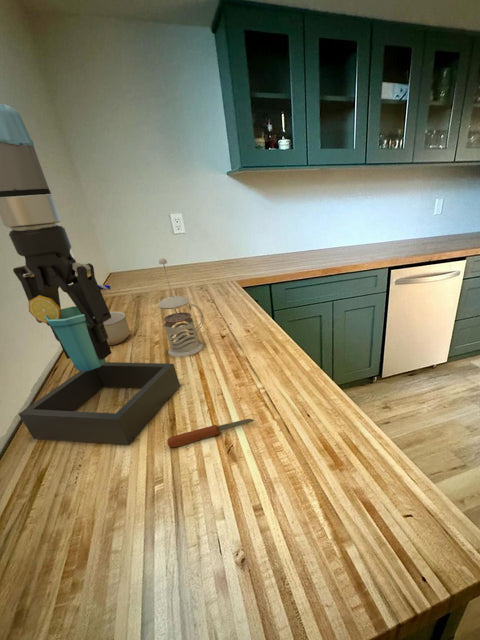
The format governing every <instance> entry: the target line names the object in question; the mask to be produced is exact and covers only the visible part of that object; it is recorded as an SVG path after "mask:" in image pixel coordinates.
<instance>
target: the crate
mask: <svg viewBox="0 0 480 640" xmlns="http://www.w3.org/2000/svg"><path fill="white" fill-rule="evenodd" d="M180 387H181V384H180V380H179V377H178V374H177V370H176V367H175V364H174V363H166V362H165V363H163V362H161V363H160V362H119V361H118V362H117V361H116V362H110V361H106V362H105V363H104V364H103V365H102V366H101V367H98V368H95V369H93V370H90V371H77V373H75V374H73V375H72V376H71V377H69V378H68V379H67V380H64V381H63V382H62V383H60V384H59V385H58V386H56V387H54V389H52V390H51V391H50V392H47V393H46V394H45V395H44V396H42V397H41V398H39V399H38V400H36V401H35V402H33V403H32V404H30V405H29V406H28V407H26V408H25V409H23V410H22V411H20V412H19V413H18V416H19V417H20V419H21V421H22V422H23V424H24V426H25V427H26V429H27V431H28V432H29V434H30V436H31V437H32V439H33V440H44V441H62V442H77V443H88V444H89V443H91V444H105V445H106V444H107V445H119V446H130V445H131V444H132V443H133V441H135V439H136V438H137V437H138V435H139V434H140V433H141V432H142V431H143V430H144V428H146V426H147V425H148V424H149V423H150V422H151V420H152V419H153V418H154V417H155V416H156V415H157V414H158V413H159V411H160V410H162V408H163V407H164V405H165V404H166V403H167V402H168V401H169V400H170V399H171V398H172V396H173V395H174V394H175V393H176V392H177V390H179V388H180ZM103 388H118V389H119V388H121V389H139V390H138V391H137V392H136V393H135V394H134V395H133V396H132V397H131V398H130V399H129V400H128V401H127V402H126V403H125V404H123V406H121V407H120V408H119V410H117V411H116V412H115V413H114V412H96V411H95V412H94V411H77V410H79V408H80V407H82V406H83V405H84V404H85V403H87V402H88V401H89V400H90V399H91V398H93V397H94V396H95V395H96V394H97V393H99V392H100V391H101V390H102V389H103Z"/></svg>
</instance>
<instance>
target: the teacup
mask: <svg viewBox="0 0 480 640" xmlns="http://www.w3.org/2000/svg"><path fill="white" fill-rule="evenodd" d="M109 312H110V314H111V318H110V319H108V320H107V321H105V322H104V323H103V324H104V327H105V330H106V332H107V335H108V339H107V342H108V345H109V346H114V345H119V344H120V343H122V342H125V340H126V338H128V337H129V335H130V326H129V323H128V320H127V317H126V313H125V312H122V311H109Z"/></svg>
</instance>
